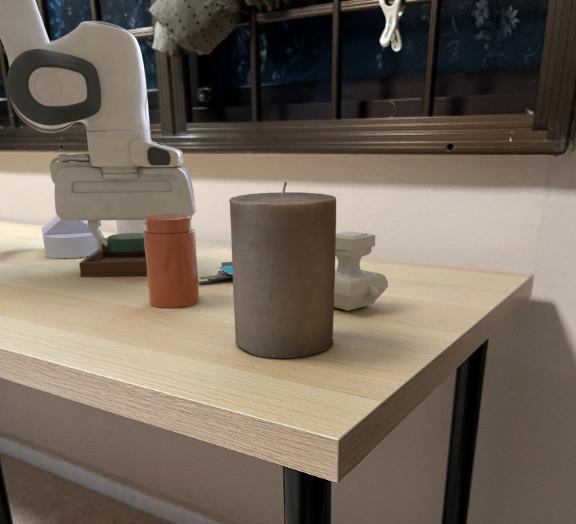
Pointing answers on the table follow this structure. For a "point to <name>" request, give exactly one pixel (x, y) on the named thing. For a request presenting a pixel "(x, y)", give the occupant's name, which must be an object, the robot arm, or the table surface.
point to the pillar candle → (283, 272)
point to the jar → (171, 260)
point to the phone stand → (221, 275)
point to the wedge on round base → (68, 239)
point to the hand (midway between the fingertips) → (131, 250)
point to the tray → (114, 264)
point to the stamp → (355, 272)
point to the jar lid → (126, 242)
